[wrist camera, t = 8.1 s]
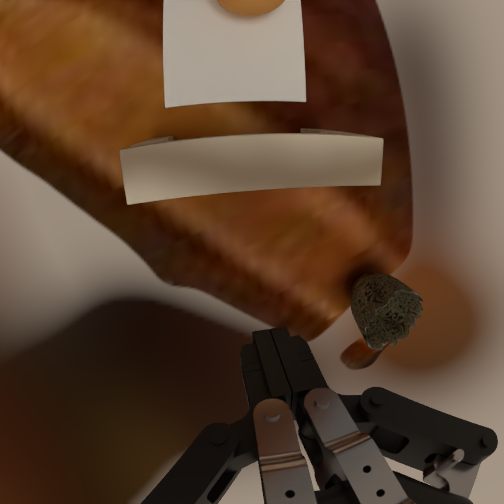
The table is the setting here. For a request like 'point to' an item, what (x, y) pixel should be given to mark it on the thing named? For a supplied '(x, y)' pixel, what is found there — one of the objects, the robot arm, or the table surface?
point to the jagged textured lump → (383, 308)
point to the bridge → (248, 163)
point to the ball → (251, 6)
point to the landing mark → (231, 54)
